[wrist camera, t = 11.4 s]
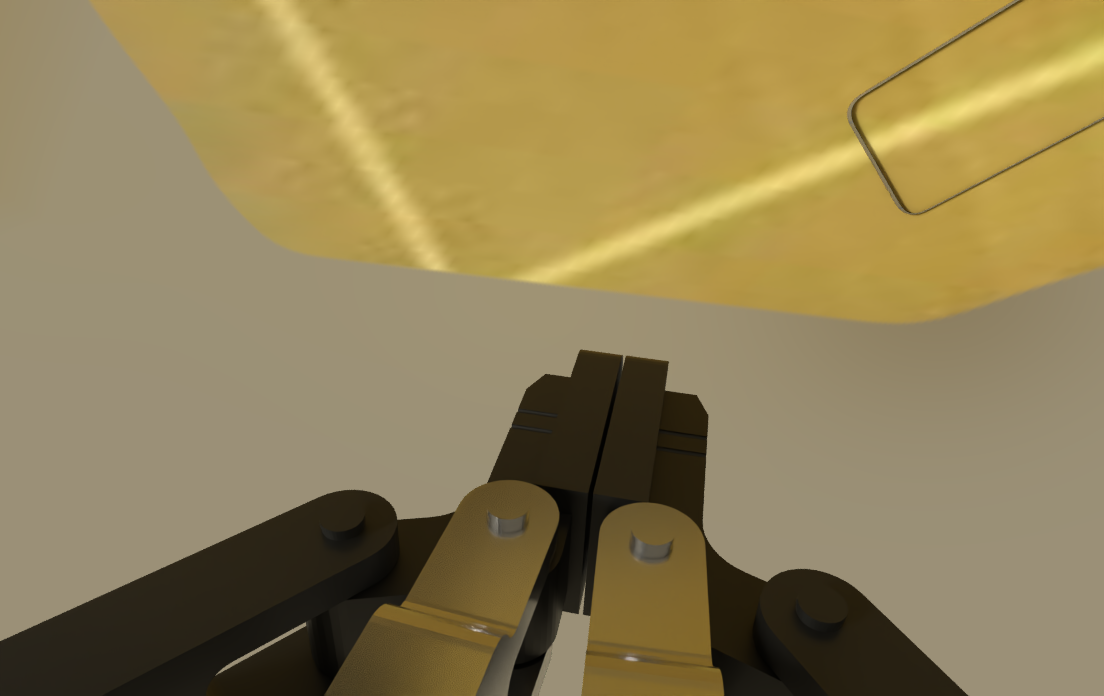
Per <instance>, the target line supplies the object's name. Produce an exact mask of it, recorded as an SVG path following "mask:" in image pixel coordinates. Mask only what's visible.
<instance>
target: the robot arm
mask: <svg viewBox="0 0 1104 696" xmlns="http://www.w3.org/2000/svg"><path fill="white" fill-rule="evenodd" d="M668 363H669V362H668V361H661V360H655V359H647V358H640V357H632V356H626V358H625V362H624V366H623V355H616V354H610V353H602V352H595V351H588V350H580V351H579V354H578V357H577V360H576V363H575V366H574V368H573V371H572V374H571V377H564V376H556V375H550V374H545V375H544V376H542V377H541V378H540V379H539V380H537V381H536V382H535V383H533V384H532V385H531V386H530V387H528V388H527V389H526V391H525V394H524V396H523V399H522V401H521V403H520V406H519V409H518V412H517V413H516V415H515V418H514V421H513V423H512V427H511V428H510V430H509V432H508V435H507V437H506V440H505V442H504V444H503V447H502V449H501V452H500V454H499V456H498V459H497V461H496V463H495V466H494V468H493V471H492V473H491V475H490V478H489V480H488V482H487V484H484V485H481V486H479V487H477V488H475V489H474V490H472V491H471V492H469V493H468V494H467V495H466V496H465V497H464V498H463V500H462V501H461V502H460V504H459V506H458V508H457V510H456V511H455V512H453V513H450V514H446V515H442V516H436V517H429V518H415V519H403V520H397V516H396V512H395V511H394V508H393V507H392V505H391V504H390V503H389V502H388V501H386V500H385V499H384V498H382V497H381V496H379V495H377V494H374V493H371V492H367V491H361V490H344V491H338V492H333V493H330V494H326V495H324V496H321V497H318V498H316V499H314V500H312V501H310V502H307V503H305V504H303V505H301V506H299V507H296V508H294V509H292V510H290V511H288V512H285V513H283V514H281V515H279V516H276V517H274V518H272V519H270V520H268V521H265V522H263V523H261V524H259V525H257V526H254V527H252V528H250V529H248V530H246V531H243V532H241V533H239V534H237V535H234V536H232V537H230V538H228V539H226V540H224V541H221V542H219V543H217V544H215V545H212V546H210V547H208V548H206V549H203V550H201V551H199V552H197V553H195V554H193V555H190V556H188V557H186V558H184V559H181V560H179V561H177V562H175V563H173V564H170V565H168V566H166V567H164V568H161V569H159V570H157V571H155V572H153V573H151V574H148V575H146V576H144V577H142V578H139V579H137V580H135V581H133V582H130V583H129V584H126V585H124V586H122V587H119V588H117V589H115V590H113V591H111V592H108V593H106V594H104V595H102V596H100V597H97V598H95V599H93V600H91V601H89V602H86V603H84V604H82V605H80V606H77V607H75V608H73V609H71V610H69V611H66V612H64V613H62V614H60V615H58V616H55V617H53V618H51V619H49V620H46V621H44V622H42V623H40V624H38V625H36V626H33V627H31V628H29V629H27V630H24V631H22V632H20V633H18V634H15V635H13V636H11V637H9V638H7V639H4V640H2V641H0V696H538V695H539V692H540V689H541V686H542V683H543V680H544V677H545V674H546V672H547V669H548V665H549V663H550V659H551V655H552V643H553V642H554V640H555V637H556V635H557V631H558V627H559V623H560V619H561V615H562V611H565V612H570V613H576V614H579V609H580V605H581V600H582V596H583V591H584V587H585V598H584V610H583V614H584V615H588V616H590V626H589V635H588V646H587V651H586V659H585V668H584V677H583V687H582V696H968V695H967V694H966V693H965V692H964V691H963V690H962V689H960V687H959V686H957V685H956V683H955V682H953V681H952V680H951V679H950V678H949V677H948V676H947V675H946V674H945V673H944V672H943V671H942V670H941V669H940V668H939V667H938V666H937V665H936V664H935V663H934V662H933V661H932V660H931V659H929V658H928V657H927V656H926V655H925V654H924V653H923V652H922V651H921V650H920V649H919V648H918V647H917V646H916V645H915V644H914V643H913V642H912V641H911V640H910V639H909V638H908V637H907V636H906V635H905V634H903V633H902V632H901V631H900V630H899V629H898V628H897V627H896V626H895V625H894V624H893V623H892V622H891V621H890V620H889V619H888V618H887V617H886V616H885V615H884V614H883V613H882V612H881V611H879V610H878V609H877V608H876V607H875V606H874V605H873V604H872V603H871V602H870V601H869V600H868V599H867V598H866V597H865V596H864V595H863V594H862V593H861V592H859V591H858V590H857V589H856V588H855V587H853V586H852V585H850V584H849V583H847V582H846V581H844V580H842V579H840V578H838V577H836V576H833V575H830V574H828V573H824V572H821V571H817V570H810V569H795V570H788V571H785V572H781V573H779V574H777V575H775V576H774V577H772V578H771V579H770V580H769V581H768V582H766V581H764V580H761V579H759V578H757V577H755V576H752V575H750V574H748V573H745V572H743V571H741V570H739V569H737V568H736V567H734V566H732V565H730V564H729V563H728V562H726V561H725V560H724V559H723V558H722V557H720V556H719V555H718V554H717V552H715V550H714V549H713V548H712V547H711V545H710V544H709V542H708V540H707V538H706V536H705V534H704V530H703V504H704V484H705V468H706V449H707V432H708V414H707V412H706V411H705V409H704V407H703V405H702V404H701V402H700V400H699V398H698V397H697V395H691V394H684V393H677V392H670V391H665V386H666V378H667V371H668ZM622 366H623V370H622ZM585 582H586V586H585ZM305 622H306V626H305V627H304V628H302V629H300V630H298V631H296V632H294V633H293V634H291V635H289V636H287V637H285V638H283V639H282V640H280V641H278V642H276V643H274V644H273V645H271V646H269V647H267V648H265V649H263V650H261V651H260V652H258V653H256V654H254V655H252V656H251V657H249V658H247V659H245V660H243V661H241V662H240V663H238V664H236V665H234V666H232V667H231V668H229V669H227V670H225V671H223V672H221V673H219V674H218V675H216V674H217V673H218V672H219V671H220V670H221V669H222V668H224V667H225V666H226V665H228V664H230V663H231V662H233V661H235V660H237V659H238V658H240V657H242V656H244V655H245V654H248V653H249V652H251V651H253V650H255V649H257V648H259V647H260V646H262V645H264V644H266V643H268V642H270V641H272V640H273V639H275V638H277V637H279V636H281V635H282V634H284V633H286V632H288V631H290V630H292V629H294V628H295V627H297V626H299V625H301V624H303V623H305ZM215 675H216V676H215Z"/></svg>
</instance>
